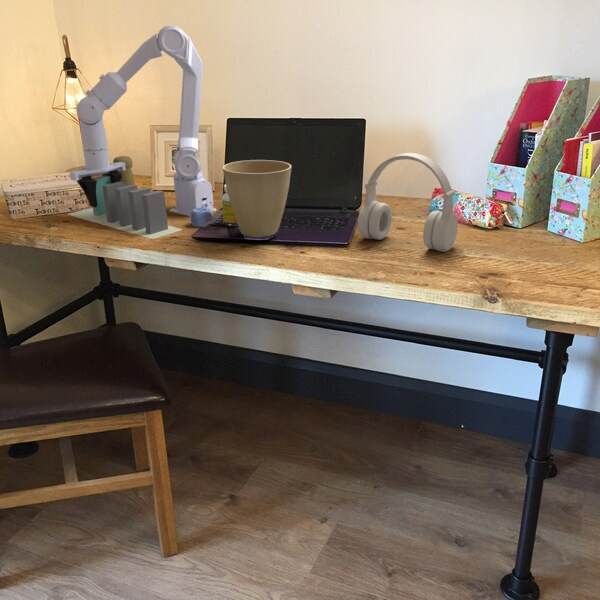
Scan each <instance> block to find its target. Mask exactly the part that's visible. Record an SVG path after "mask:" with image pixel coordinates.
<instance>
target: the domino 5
mask: <svg viewBox="0 0 600 600" xmlns="http://www.w3.org/2000/svg"><path fill="white" fill-rule="evenodd" d="M142 202H143V211H144V220H145V228H146V233H148V234H154V233H157V232H161V231H164V230H167V229H168V226H169V225H168V216H167V205H166V204H167V203H166V196H165V191H164V190H159V189H158V190H154V191H151V192H150V193H146V194H142Z"/></svg>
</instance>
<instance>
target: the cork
mask: <svg viewBox="0 0 600 600" xmlns="http://www.w3.org/2000/svg"><path fill="white" fill-rule="evenodd" d="M117 162H124V163H125V166H126V170H125V171H118V173H122V178H121V180H120V182H124V184H125V186H128V185H132V184H133V185H136V182H135V179H134V175H133V170H132V168H133V160H132V158H131V157H130V156H126V155H124V156H123V155H121V156H116V157H115V158H114V159H113V160H112V163H117Z"/></svg>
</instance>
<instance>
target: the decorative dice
mask: <svg viewBox="0 0 600 600" xmlns="http://www.w3.org/2000/svg"><path fill="white" fill-rule="evenodd" d="M189 218H190V223H191V225H192V226H193V227H196V228H202V227H201V226H203V225H204V224H205V223H207V222H209V221H213V222H214V215H213V212H211V210H210V209H208V208H195V209H193V210H192V212H191V214H190V216H189Z"/></svg>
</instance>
